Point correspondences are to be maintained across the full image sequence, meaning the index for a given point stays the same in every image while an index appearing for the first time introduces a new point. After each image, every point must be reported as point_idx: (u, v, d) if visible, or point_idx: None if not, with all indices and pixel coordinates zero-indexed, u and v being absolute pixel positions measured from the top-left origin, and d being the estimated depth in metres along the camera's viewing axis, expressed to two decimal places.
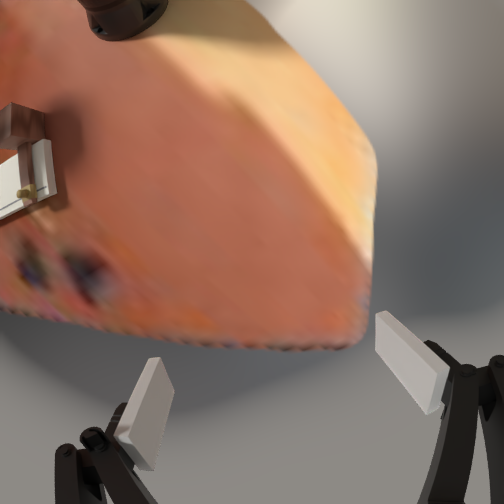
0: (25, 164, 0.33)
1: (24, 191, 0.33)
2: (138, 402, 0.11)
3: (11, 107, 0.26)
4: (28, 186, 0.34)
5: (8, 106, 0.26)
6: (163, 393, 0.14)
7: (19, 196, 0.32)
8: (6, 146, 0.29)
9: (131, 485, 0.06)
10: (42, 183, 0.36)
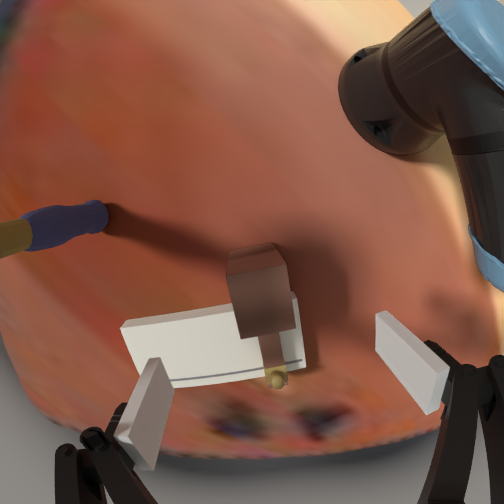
0: (275, 340, 0.30)
1: (282, 377, 0.30)
2: (138, 402, 0.11)
3: None
4: (282, 367, 0.31)
5: (278, 270, 0.23)
6: (163, 393, 0.14)
7: (279, 387, 0.29)
8: None
9: (131, 485, 0.06)
10: (295, 356, 0.33)
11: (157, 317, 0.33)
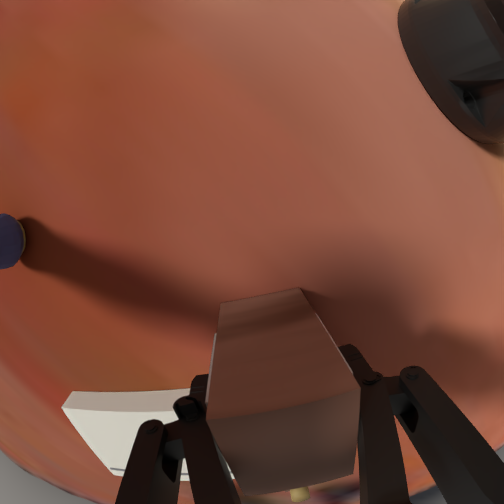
0: None
1: (307, 487, 0.15)
2: None
3: None
4: None
5: (339, 402, 0.08)
6: None
7: (302, 500, 0.14)
8: None
9: (214, 460, 0.08)
10: None
11: (112, 397, 0.18)
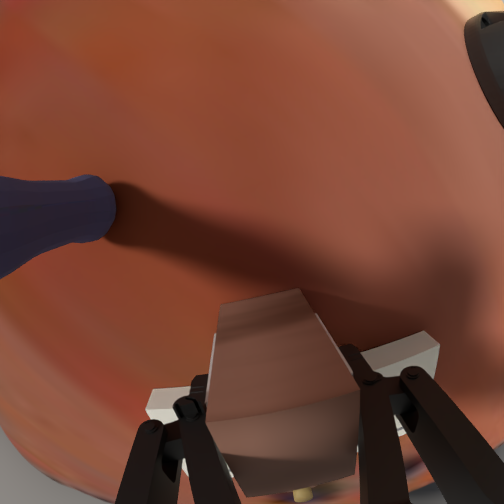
0: None
1: (310, 487, 0.15)
2: None
3: None
4: None
5: (338, 404, 0.08)
6: None
7: (304, 500, 0.14)
8: None
9: (213, 460, 0.08)
10: None
11: None
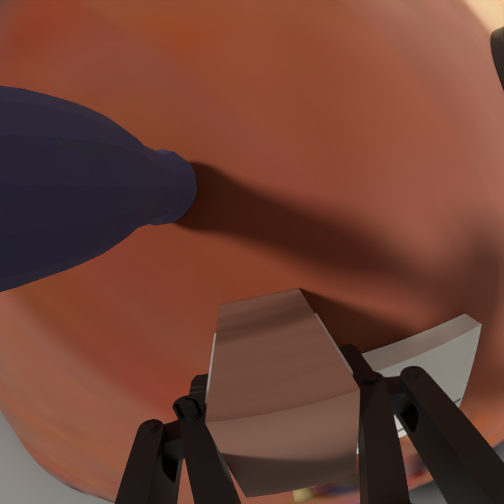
0: None
1: None
2: None
3: None
4: None
5: (338, 404, 0.08)
6: None
7: (304, 500, 0.14)
8: None
9: (213, 460, 0.08)
10: (455, 396, 0.18)
11: None
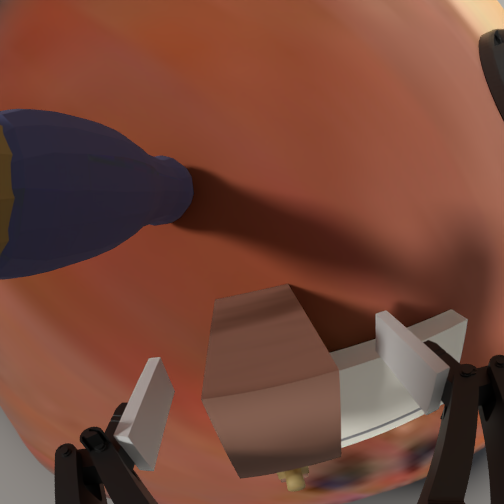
0: None
1: (302, 476, 0.16)
2: (138, 402, 0.11)
3: None
4: None
5: (320, 383, 0.09)
6: (163, 393, 0.14)
7: (297, 489, 0.16)
8: None
9: (131, 485, 0.06)
10: None
11: None
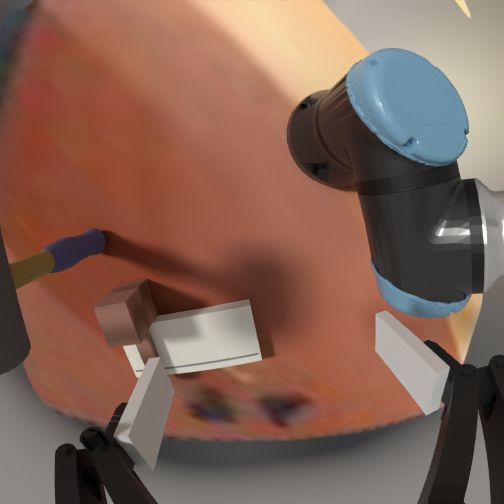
0: (149, 350, 0.39)
1: None
2: (138, 402, 0.11)
3: (127, 308, 0.32)
4: None
5: (121, 305, 0.32)
6: (163, 393, 0.14)
7: None
8: None
9: (131, 485, 0.06)
10: (252, 350, 0.42)
11: None
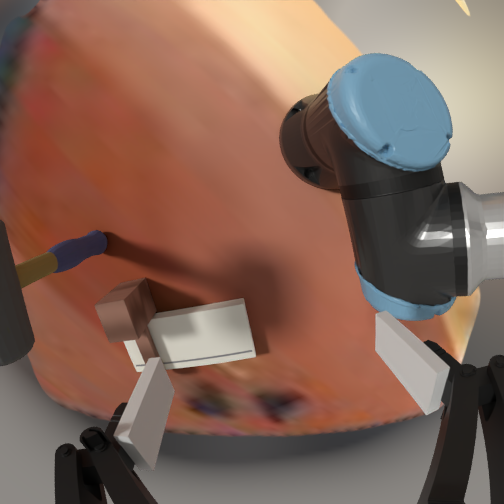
0: (147, 345, 0.41)
1: None
2: (138, 402, 0.11)
3: (126, 305, 0.34)
4: None
5: (120, 303, 0.34)
6: (163, 393, 0.14)
7: None
8: None
9: (131, 485, 0.06)
10: (246, 347, 0.44)
11: None
